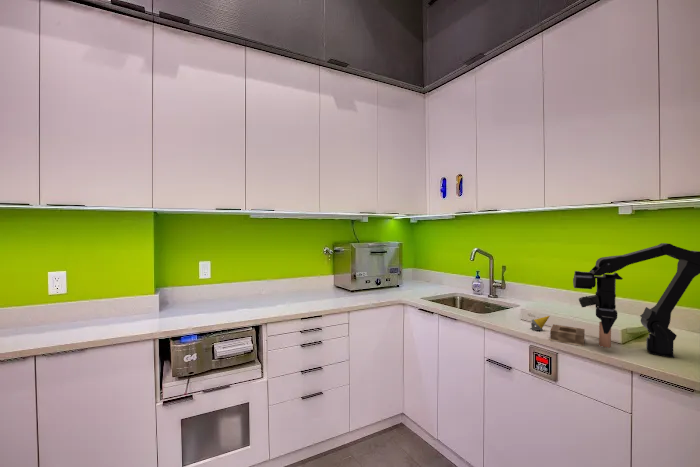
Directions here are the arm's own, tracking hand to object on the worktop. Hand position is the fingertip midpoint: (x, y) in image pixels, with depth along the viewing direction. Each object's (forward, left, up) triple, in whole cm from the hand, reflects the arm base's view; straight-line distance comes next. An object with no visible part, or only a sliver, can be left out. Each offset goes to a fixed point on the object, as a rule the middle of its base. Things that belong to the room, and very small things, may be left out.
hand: (605, 330), depth 126 cm
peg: (0, 0, -6) cm, 6 cm away
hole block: (+12, 0, -6) cm, 13 cm away
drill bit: (+23, -8, -6) cm, 25 cm away
